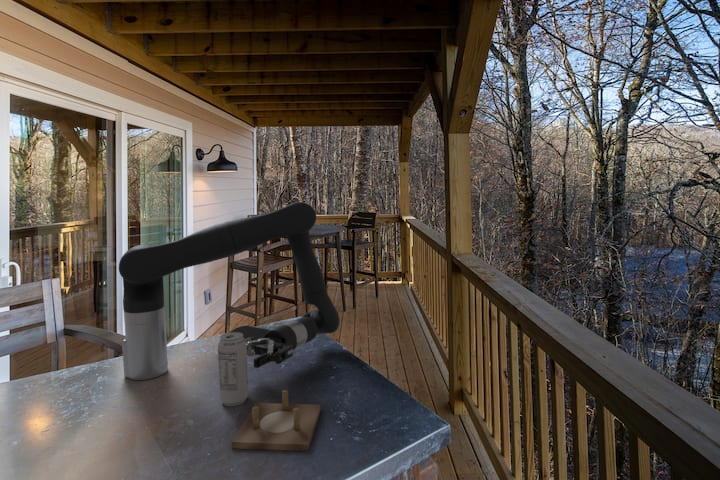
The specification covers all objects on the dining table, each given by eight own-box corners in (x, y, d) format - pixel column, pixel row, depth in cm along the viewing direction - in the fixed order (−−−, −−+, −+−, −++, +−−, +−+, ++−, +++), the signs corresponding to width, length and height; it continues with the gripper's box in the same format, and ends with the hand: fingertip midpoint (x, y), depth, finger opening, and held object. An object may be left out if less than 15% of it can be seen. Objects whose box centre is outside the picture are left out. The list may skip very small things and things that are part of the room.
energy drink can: (254, 398, 91) (251, 334, 90) (232, 410, 86) (230, 342, 85) (236, 391, 94) (233, 329, 93) (214, 402, 89) (211, 337, 88)
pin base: (231, 448, 73) (230, 420, 72) (256, 408, 87) (255, 385, 86) (308, 450, 72) (307, 423, 71) (320, 410, 86) (320, 386, 85)
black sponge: (281, 343, 127) (281, 331, 127) (263, 351, 120) (262, 339, 119) (243, 335, 135) (243, 324, 135) (224, 343, 128) (223, 331, 127)
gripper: (265, 320, 109) (217, 339, 94) (308, 328, 102) (264, 349, 88) (266, 347, 109) (219, 369, 95) (309, 357, 103) (265, 382, 88)
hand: (240, 360), depth 91 cm, fingers open, 8 cm apart
